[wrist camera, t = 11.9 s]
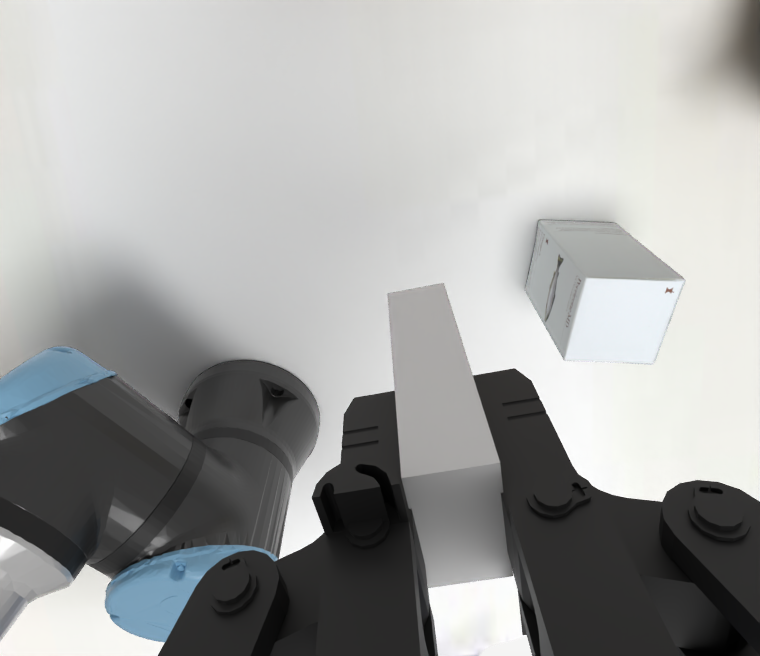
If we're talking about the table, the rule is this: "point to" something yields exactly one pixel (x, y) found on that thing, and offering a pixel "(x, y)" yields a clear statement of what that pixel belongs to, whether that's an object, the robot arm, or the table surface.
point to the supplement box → (601, 292)
